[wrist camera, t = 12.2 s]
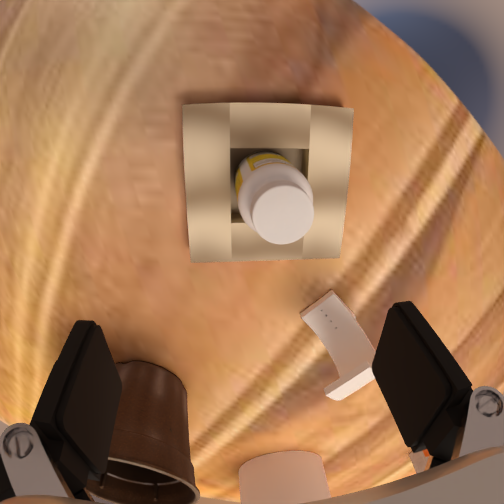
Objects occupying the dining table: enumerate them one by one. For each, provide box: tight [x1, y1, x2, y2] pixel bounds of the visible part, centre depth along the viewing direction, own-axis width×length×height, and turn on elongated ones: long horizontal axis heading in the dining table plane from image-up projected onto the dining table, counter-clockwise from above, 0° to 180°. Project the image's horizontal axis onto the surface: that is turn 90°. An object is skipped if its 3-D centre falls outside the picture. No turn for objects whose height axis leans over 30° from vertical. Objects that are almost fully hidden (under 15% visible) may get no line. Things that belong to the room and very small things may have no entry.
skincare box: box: [409, 449, 429, 473], centre depth 55 cm, size 6×4×12 cm
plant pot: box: [86, 361, 200, 504], centre depth 33 cm, size 16×16×16 cm
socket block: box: [182, 103, 354, 263], centre depth 28 cm, size 14×14×2 cm
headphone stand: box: [300, 290, 376, 400], centre depth 31 cm, size 5×6×12 cm
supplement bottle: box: [235, 151, 314, 244], centre depth 24 cm, size 5×5×10 cm
